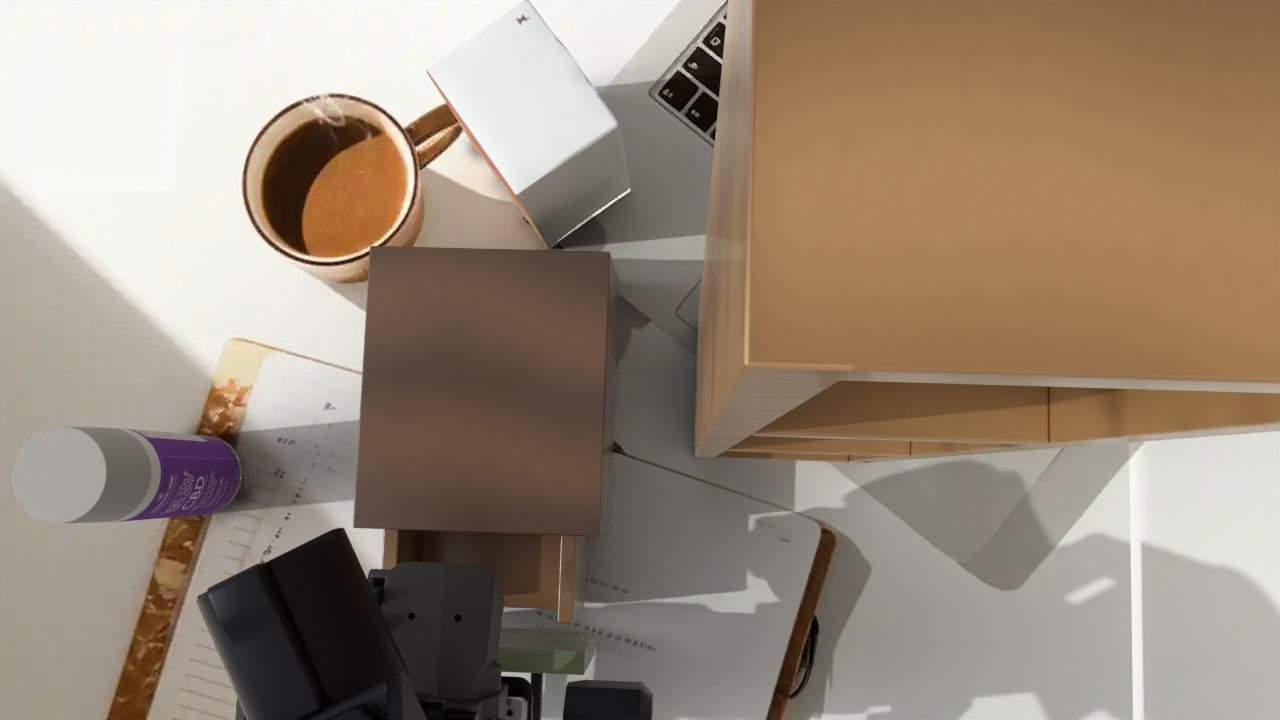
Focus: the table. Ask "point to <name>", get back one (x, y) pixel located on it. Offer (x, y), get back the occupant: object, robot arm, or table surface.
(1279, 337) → the rack
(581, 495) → the brown box
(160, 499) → the container
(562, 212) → the small box
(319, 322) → the table surface
